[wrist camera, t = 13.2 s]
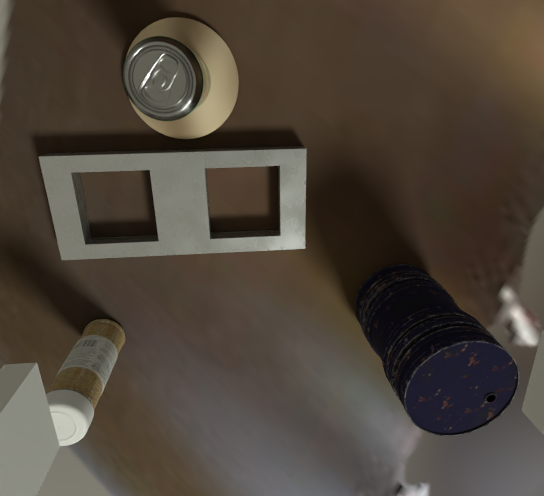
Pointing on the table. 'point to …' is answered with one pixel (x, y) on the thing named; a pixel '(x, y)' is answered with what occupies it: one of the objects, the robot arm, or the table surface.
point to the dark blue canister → (434, 352)
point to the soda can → (165, 78)
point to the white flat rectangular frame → (174, 201)
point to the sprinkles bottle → (83, 379)
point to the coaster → (221, 76)
